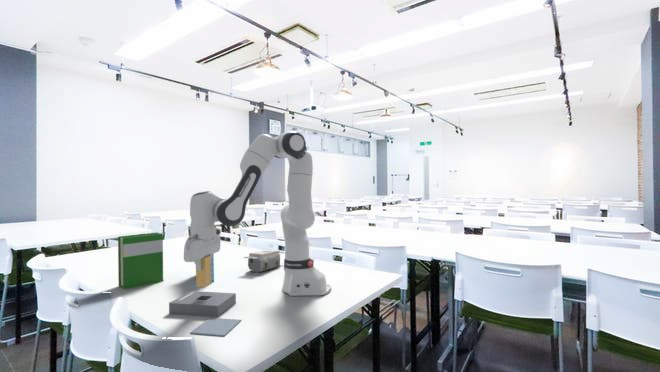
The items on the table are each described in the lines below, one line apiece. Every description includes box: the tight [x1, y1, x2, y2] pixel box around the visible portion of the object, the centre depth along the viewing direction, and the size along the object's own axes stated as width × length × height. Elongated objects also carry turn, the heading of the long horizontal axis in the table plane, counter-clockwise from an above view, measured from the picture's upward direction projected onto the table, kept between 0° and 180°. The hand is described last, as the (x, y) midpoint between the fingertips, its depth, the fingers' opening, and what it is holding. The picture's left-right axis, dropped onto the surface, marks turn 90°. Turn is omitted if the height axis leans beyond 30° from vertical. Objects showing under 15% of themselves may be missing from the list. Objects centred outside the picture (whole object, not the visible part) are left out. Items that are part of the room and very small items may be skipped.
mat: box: [189, 317, 242, 337], centre depth 110 cm, size 12×12×1 cm
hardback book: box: [117, 232, 164, 290], centre depth 161 cm, size 18×7×24 cm, turn 139°
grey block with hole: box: [168, 290, 237, 318], centre depth 128 cm, size 20×14×4 cm
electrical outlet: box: [243, 249, 285, 273], centre depth 188 cm, size 12×28×10 cm, turn 156°
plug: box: [195, 254, 212, 288], centre depth 128 cm, size 4×4×12 cm
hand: (203, 268), depth 128 cm, fingers closed on plug, 4 cm apart
